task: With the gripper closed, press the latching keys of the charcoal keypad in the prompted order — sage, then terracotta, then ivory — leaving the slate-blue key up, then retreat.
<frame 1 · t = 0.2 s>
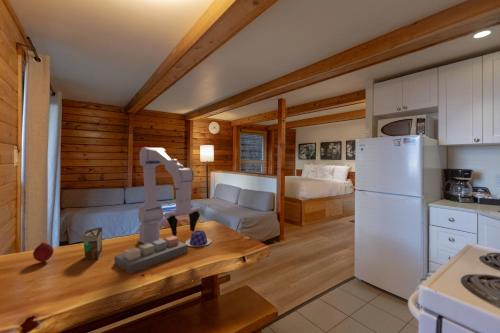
hand: (183, 232, 95), 10 cm above the table, fingers open, 7 cm apart
key slate: (159, 245, 98), point 4 cm above the table, slide at 0.0 cm
onion: (43, 262, 91), on the table
keypad board: (153, 257, 96), on the table
key terracotta: (171, 241, 102), point 4 cm above the table, slide at 0.0 cm
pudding: (198, 243, 112), on the table
key ivory: (132, 254, 89), point 4 cm above the table, slide at 0.0 cm
key sage: (146, 249, 93), point 4 cm above the table, slide at 0.0 cm
food container: (91, 257, 96), on the table
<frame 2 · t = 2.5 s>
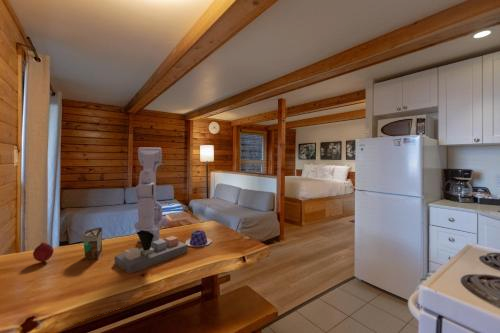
hand: (146, 249, 93), 4 cm above the table, fingers closed, pressing on key sage
key sage: (146, 253, 93), point 3 cm above the table, slide at 1.4 cm, touching gripper
everything else where it was.
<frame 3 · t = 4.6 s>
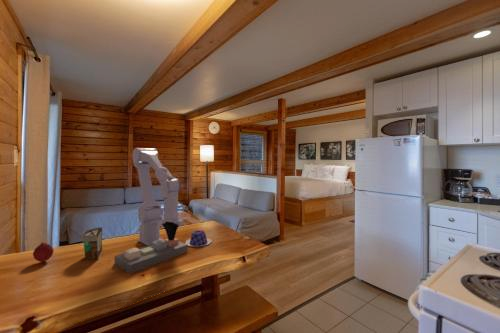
hand: (171, 239, 102), 5 cm above the table, fingers closed, pressing on key terracotta
key terracotta: (171, 243, 102), point 3 cm above the table, slide at 0.6 cm, touching gripper
key sage: (146, 253, 94), point 2 cm above the table, slide at 1.5 cm
everything else where it was.
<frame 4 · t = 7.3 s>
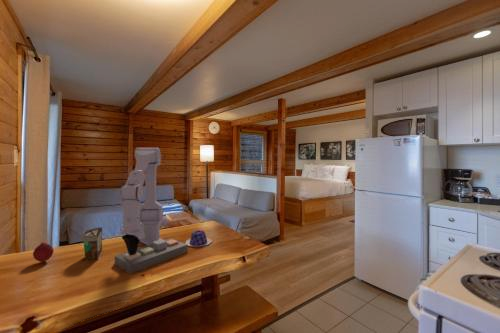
hand: (132, 254, 89), 4 cm above the table, fingers closed, pressing on key ivory
key terracotta: (171, 245, 102), point 2 cm above the table, slide at 1.5 cm
key ivory: (132, 258, 89), point 2 cm above the table, slide at 1.4 cm, touching gripper
everything else where it was.
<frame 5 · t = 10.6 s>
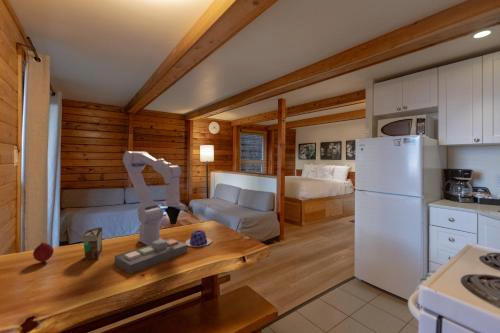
hand: (173, 224, 106), 10 cm above the table, fingers closed
key ivory: (132, 258, 89), point 2 cm above the table, slide at 1.5 cm
at the end: key sage slide at 1.5 cm; key terracotta slide at 1.5 cm; key ivory slide at 1.5 cm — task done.
